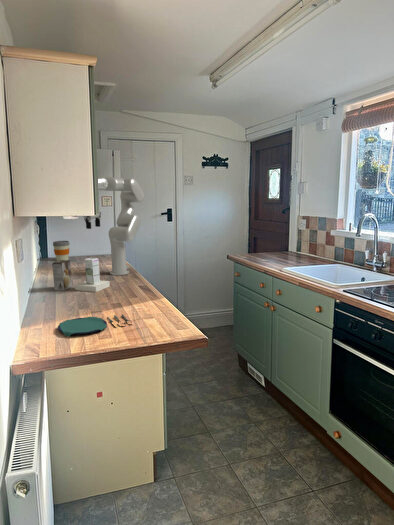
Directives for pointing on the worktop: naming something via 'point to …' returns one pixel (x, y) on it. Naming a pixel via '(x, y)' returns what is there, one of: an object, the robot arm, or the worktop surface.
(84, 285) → the base plinth
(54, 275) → the coffee box
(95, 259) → the syrup box
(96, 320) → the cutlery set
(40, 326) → the worktop surface
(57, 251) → the reusable coffee cup
